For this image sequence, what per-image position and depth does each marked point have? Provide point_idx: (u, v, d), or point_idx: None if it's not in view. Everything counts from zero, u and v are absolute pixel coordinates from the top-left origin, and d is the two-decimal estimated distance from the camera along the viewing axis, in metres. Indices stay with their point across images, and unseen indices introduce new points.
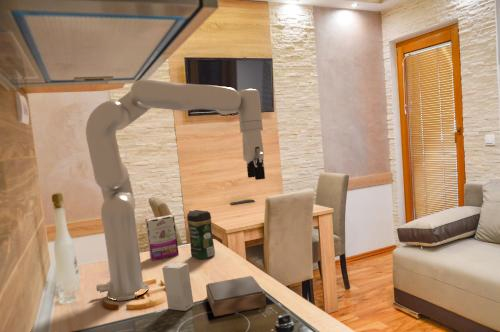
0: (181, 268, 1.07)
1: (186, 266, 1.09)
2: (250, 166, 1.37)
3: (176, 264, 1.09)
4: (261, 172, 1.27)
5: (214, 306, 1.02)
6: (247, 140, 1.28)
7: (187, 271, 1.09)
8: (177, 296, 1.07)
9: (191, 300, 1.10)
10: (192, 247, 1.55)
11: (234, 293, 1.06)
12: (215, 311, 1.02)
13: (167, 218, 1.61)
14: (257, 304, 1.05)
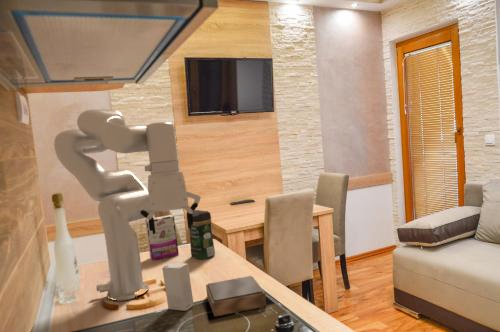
0: (181, 268, 1.07)
1: (186, 266, 1.09)
2: (153, 219, 1.07)
3: (176, 264, 1.09)
4: None
5: (214, 306, 1.02)
6: (180, 182, 1.06)
7: (187, 271, 1.09)
8: (177, 296, 1.07)
9: (191, 300, 1.10)
10: (192, 247, 1.55)
11: (234, 293, 1.06)
12: (215, 311, 1.02)
13: (167, 218, 1.61)
14: (257, 304, 1.05)
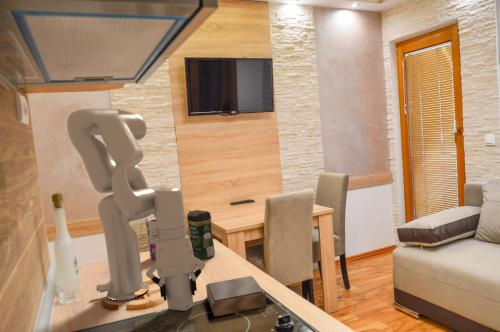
0: None
1: None
2: (164, 285, 1.08)
3: None
4: None
5: (214, 306, 1.02)
6: (187, 248, 1.07)
7: None
8: (177, 296, 1.07)
9: (191, 300, 1.10)
10: (192, 247, 1.55)
11: (234, 293, 1.06)
12: (215, 311, 1.02)
13: None
14: (257, 304, 1.05)
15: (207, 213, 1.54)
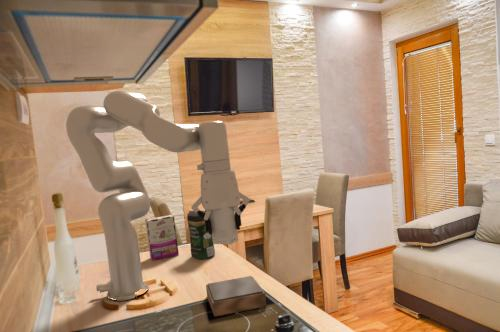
0: None
1: None
2: (209, 219, 1.08)
3: None
4: None
5: (214, 306, 1.02)
6: (232, 181, 1.06)
7: None
8: (222, 229, 1.07)
9: (236, 235, 1.09)
10: (192, 247, 1.55)
11: (234, 293, 1.06)
12: (215, 311, 1.02)
13: (167, 218, 1.61)
14: (257, 304, 1.05)
15: None
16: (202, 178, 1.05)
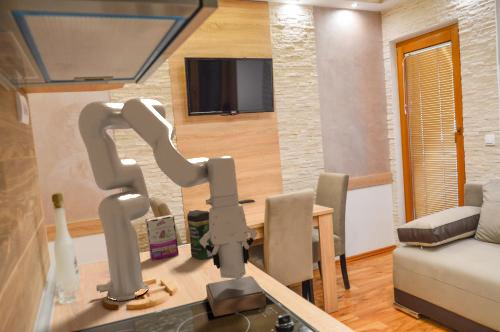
0: None
1: None
2: None
3: None
4: None
5: (214, 306, 1.02)
6: (240, 216, 1.07)
7: None
8: (230, 264, 1.07)
9: (243, 269, 1.10)
10: (192, 247, 1.55)
11: (234, 293, 1.06)
12: (215, 311, 1.02)
13: (167, 218, 1.61)
14: (257, 304, 1.05)
15: (207, 213, 1.54)
16: (211, 213, 1.06)
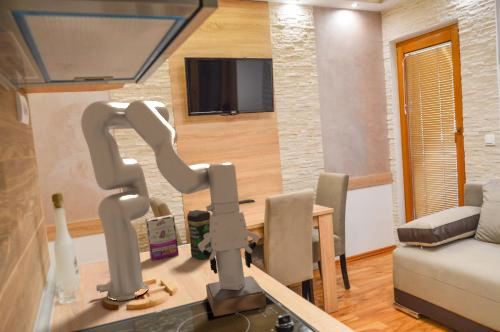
0: None
1: None
2: None
3: None
4: None
5: (214, 306, 1.02)
6: (241, 223, 1.07)
7: (239, 251, 1.09)
8: (230, 275, 1.08)
9: (243, 280, 1.10)
10: (192, 247, 1.55)
11: (234, 293, 1.06)
12: (215, 311, 1.02)
13: (167, 218, 1.61)
14: (257, 304, 1.05)
15: (207, 213, 1.54)
16: (211, 220, 1.06)
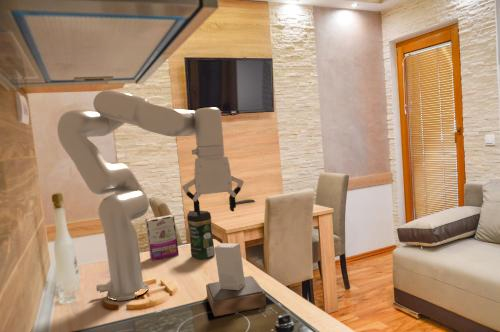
0: (234, 247, 1.07)
1: (238, 246, 1.09)
2: (198, 201, 1.11)
3: (228, 244, 1.10)
4: None
5: (214, 306, 1.02)
6: (225, 167, 1.10)
7: (239, 251, 1.09)
8: (230, 275, 1.08)
9: (243, 280, 1.10)
10: (192, 247, 1.55)
11: (234, 293, 1.06)
12: (215, 311, 1.02)
13: (167, 218, 1.61)
14: (257, 304, 1.05)
15: (207, 213, 1.54)
16: (196, 162, 1.09)
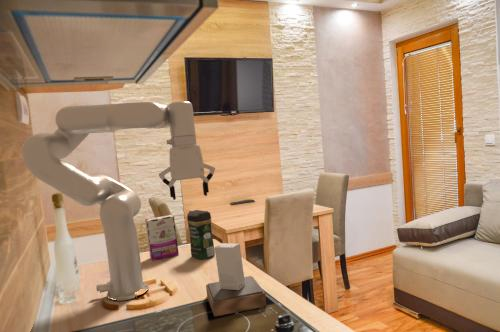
0: (234, 247, 1.07)
1: (238, 246, 1.09)
2: (174, 187, 1.22)
3: (228, 244, 1.10)
4: None
5: (214, 306, 1.02)
6: (197, 155, 1.21)
7: (239, 251, 1.09)
8: (230, 275, 1.08)
9: (243, 280, 1.10)
10: (192, 247, 1.55)
11: (234, 293, 1.06)
12: (215, 311, 1.02)
13: (167, 218, 1.61)
14: (257, 304, 1.05)
15: (207, 213, 1.54)
16: (170, 151, 1.20)
